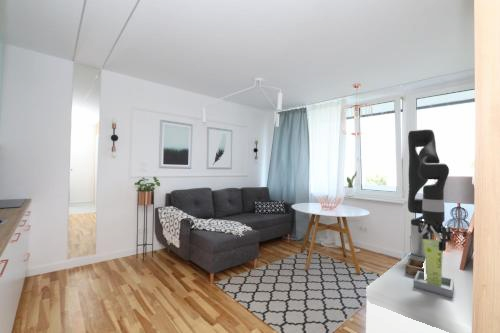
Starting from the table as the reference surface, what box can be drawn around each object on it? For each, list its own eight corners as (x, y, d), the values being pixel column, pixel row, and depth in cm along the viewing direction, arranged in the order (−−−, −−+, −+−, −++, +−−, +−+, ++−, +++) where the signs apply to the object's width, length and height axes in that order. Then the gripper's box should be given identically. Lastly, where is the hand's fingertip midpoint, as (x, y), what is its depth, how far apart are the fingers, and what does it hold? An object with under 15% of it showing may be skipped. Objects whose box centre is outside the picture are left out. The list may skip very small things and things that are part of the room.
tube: (435, 289, 98) (434, 242, 98) (422, 283, 103) (422, 238, 103) (444, 287, 100) (444, 240, 100) (432, 281, 105) (431, 237, 105)
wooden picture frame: (405, 273, 114) (405, 265, 114) (409, 265, 123) (409, 258, 123) (437, 281, 106) (437, 272, 106) (439, 272, 115) (439, 264, 115)
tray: (413, 287, 101) (413, 280, 101) (418, 277, 110) (417, 270, 110) (452, 298, 93) (452, 290, 93) (453, 286, 102) (453, 279, 102)
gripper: (456, 212, 95) (457, 253, 95) (428, 206, 109) (428, 241, 109) (438, 212, 94) (439, 253, 94) (412, 206, 109) (412, 242, 109)
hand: (433, 247), depth 102 cm, fingers open, 8 cm apart
